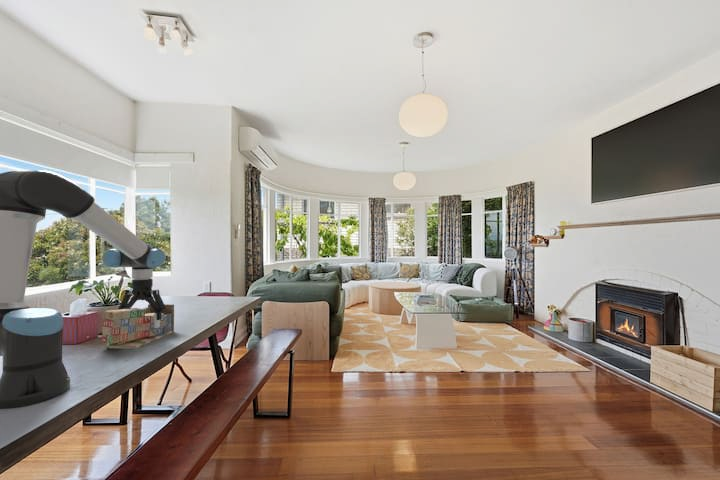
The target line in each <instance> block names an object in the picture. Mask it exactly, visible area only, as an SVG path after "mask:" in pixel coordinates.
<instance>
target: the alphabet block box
mask: <svg viewBox="0 0 720 480" xmlns="http://www.w3.org/2000/svg"><path fill="white" fill-rule="evenodd" d="M164 305H165V307H166V310H165V311H162V313H161V314H164V327H163V334H161V335H155V336H150V337H144V338H139V339H134V340H128V341H123V342H117V343H111V344H110V343H106V349H127V350H128V349H129V350H130V349H132V350H134V349H135V350H136V349H137V348H140V347H142V346H145V345H147V344H149V343H152V342H154V341H156V340H159V339H161V338H163V337H165V336H168V335H170V334H172V333H174V332H175V304H169V303H168V304H166V303H164ZM141 309H145V314H148V313H155V310H154V309H153V308H152V307H151V305H150V304H149V303H148V304H147V306H146V307H141Z"/></svg>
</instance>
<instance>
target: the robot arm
mask: <svg viewBox="0 0 720 480" xmlns="http://www.w3.org/2000/svg"><path fill="white" fill-rule="evenodd" d="M94 197H95V196H93V195H92V194H91V193H89V192H88V191H86V190H85V189H84V188H82V187H81V186H80V185H78V184H77V183H75V182H74V181H72V180H70V179H69V178H68V177H67V178H66V177H65V176H63V175H61V174H58V173H56V172H52V171H48V170H41V169H39V170H37V169H36V170H25V171H20V170H19V171H15V170H11V171H4V172H1V173H0V357H2V371H1V372H2V373H1V375H0V409H10V408H19V407H25V406H29V405H32V404H36V403H40V402H44V401H47V400H50V399H53V398H55V397H57V396H60V395H62V394H64V393H65V392H66V391H68V390H69V389H70V387H71V377H70V376H69V375H68V372H67V369H66V367H65V364H64V362H63V341H64V340H63V339H64V338H63V334H64V333H63V331H64V330H63V329H64V320H63V314H62V313H61V311H59V310H57V309H53V308H47V307H40V308H37V307H34V308H32V307H31V305H30V304H29V303H28V302H26V301H25V295H26V289H27V284H28V278H29V272H30V266H31V262H32V261H31V260H32V254H33V250H34V249H33V248H34V243H35V237H36V233H37V227H38V226H37V225H38V223H40V222H41V221H43V220H45V218H46V214H47V210H48V211H53V212H55V213H58V214H60V215H62V216H63V218H64V217H65V218H66V219H70V220H71V219H74V220H75V221H77V222H78V223H79V224H81V225H83V226H84V228H86V229H88V230H90V231H91V232H93V233H94V234H95V236H98V237H99V238H101V239H102V240H104V241H105V242H107V244H110V245H111V246H113V247H114V248H108V249H107V250H105V251H104V252H103V254H102V255H101V256H102V263H103V265H104V266H105V267H107V268H109V269H110V268H114V269H118V268H131V279H132V280H131V288H129V289H126V290H125V292H124V296H123V298H122V299H121V302H120V304H119V306H118V308H117V310H121V309H131V308H133V306H134V305H135V304H136V302H137V301H145V302H147V303H148V305H149V304H150V305H151V307H152V308H153V309H154V310H155V313H154V328H157V327H160V319H161V313H162V311H165V310H166V307H165V305H164V304H165V303H164V301H163V299H162V297H161V294H160V289H158V288H157V289H154V290H153V289H152V288H153V284H154V283H153V282H154V281H153V274H154V273H153V268H160V267H162V266H163V265H164V263H165V262H166V254H165V252H164V251H163V249H160V248H155V247H154V248H153V245H152V244H151V243H145V241H143V240H142V239H141V238H140V237H139V236H137V235H136V234H134V233H133V232H132V231H131V230H129V229H128V228H127V227H126V226H125V225H123V224H122V223H121V222H119V221H118V220H117V219H116V218H114V217H113V216H112V215H111V214H110V213H108V212H107V211H106V210H104V209H103V208H102V207H101V206H100V205H98V204H97V203H96V202H95V201H96V199H95V198H94ZM132 295H133V296H132Z"/></svg>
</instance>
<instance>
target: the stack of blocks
mask: <svg viewBox="0 0 720 480" xmlns="http://www.w3.org/2000/svg"><path fill="white" fill-rule="evenodd" d="M102 322H103V323H102V334H101V339H100V340H101V342H102V343H106V344H107V343H110V344H111V343H117V342H123V341H128V340H134V339H139V338H144V337H150V336H155V335H161V334H163V327H164V314H161V319H160V327H157V328H154V313H148V314H145V309H142V308H139V307H131V308H130V309H121V310H118V309H112V310H111V309H110V310H105V311H104V318H103V321H102Z"/></svg>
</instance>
